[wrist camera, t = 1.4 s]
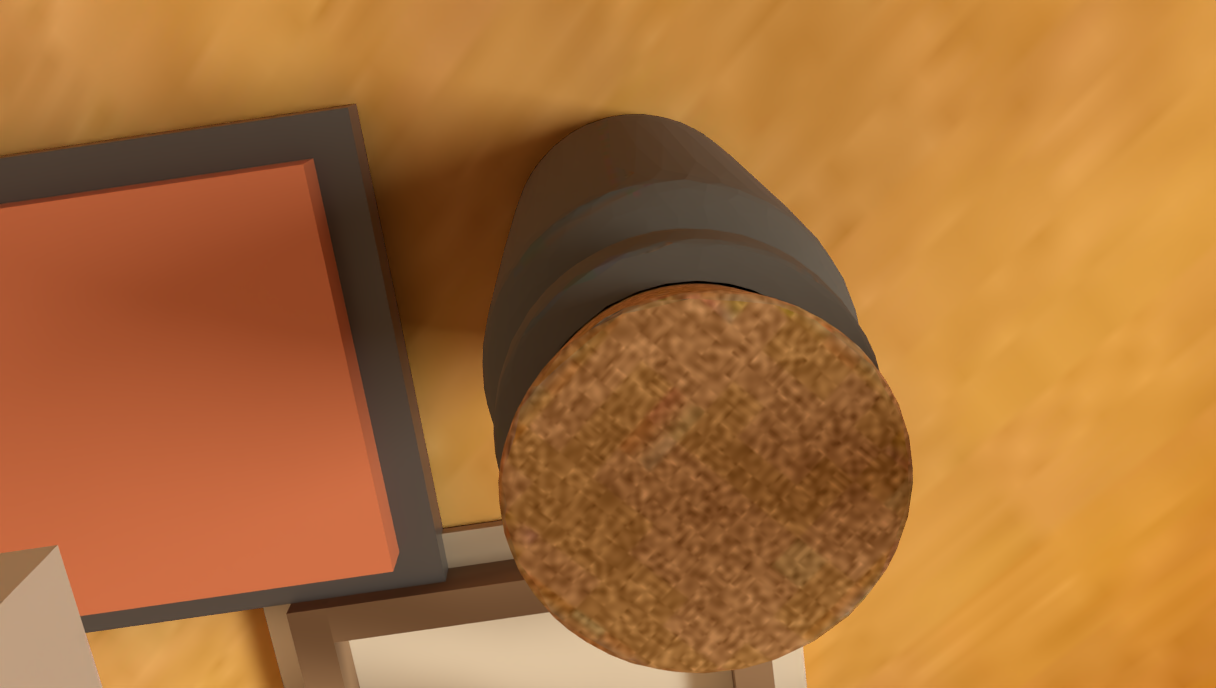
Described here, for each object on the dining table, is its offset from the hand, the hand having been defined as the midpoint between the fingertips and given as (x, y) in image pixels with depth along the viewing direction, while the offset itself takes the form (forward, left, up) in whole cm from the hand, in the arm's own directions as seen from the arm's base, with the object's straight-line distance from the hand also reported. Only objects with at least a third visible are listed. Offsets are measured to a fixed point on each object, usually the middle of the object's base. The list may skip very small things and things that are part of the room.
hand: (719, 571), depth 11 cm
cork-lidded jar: (0, 0, -17) cm, 17 cm away
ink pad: (+2, -12, -16) cm, 20 cm away
